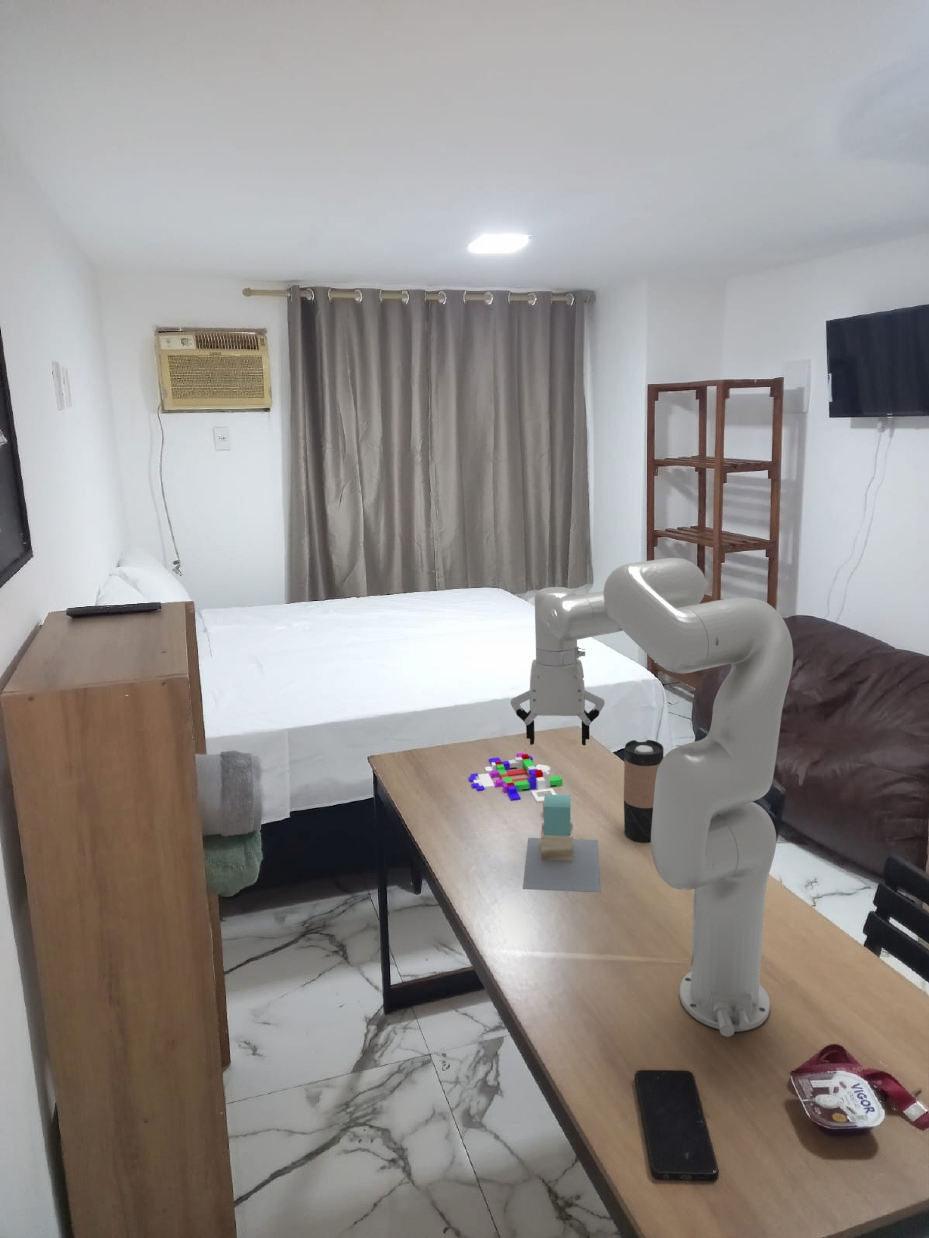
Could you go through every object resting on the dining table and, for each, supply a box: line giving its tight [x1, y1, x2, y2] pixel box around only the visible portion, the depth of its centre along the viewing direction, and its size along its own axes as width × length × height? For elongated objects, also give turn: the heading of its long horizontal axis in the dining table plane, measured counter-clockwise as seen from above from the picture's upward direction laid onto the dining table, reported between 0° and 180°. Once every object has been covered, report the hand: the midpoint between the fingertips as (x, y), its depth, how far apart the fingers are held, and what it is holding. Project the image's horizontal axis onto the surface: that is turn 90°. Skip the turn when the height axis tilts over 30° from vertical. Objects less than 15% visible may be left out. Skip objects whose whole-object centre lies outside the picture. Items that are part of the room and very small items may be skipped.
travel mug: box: [623, 739, 665, 844], centre depth 161 cm, size 8×8×20 cm
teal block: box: [543, 794, 572, 836], centre depth 156 cm, size 5×5×6 cm
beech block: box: [540, 820, 574, 861], centre depth 158 cm, size 6×6×5 cm
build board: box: [522, 837, 602, 893], centre depth 154 cm, size 18×14×1 cm
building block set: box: [467, 752, 564, 804], centre depth 191 cm, size 25×20×4 cm
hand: (557, 742), depth 152 cm, fingers open, 9 cm apart
